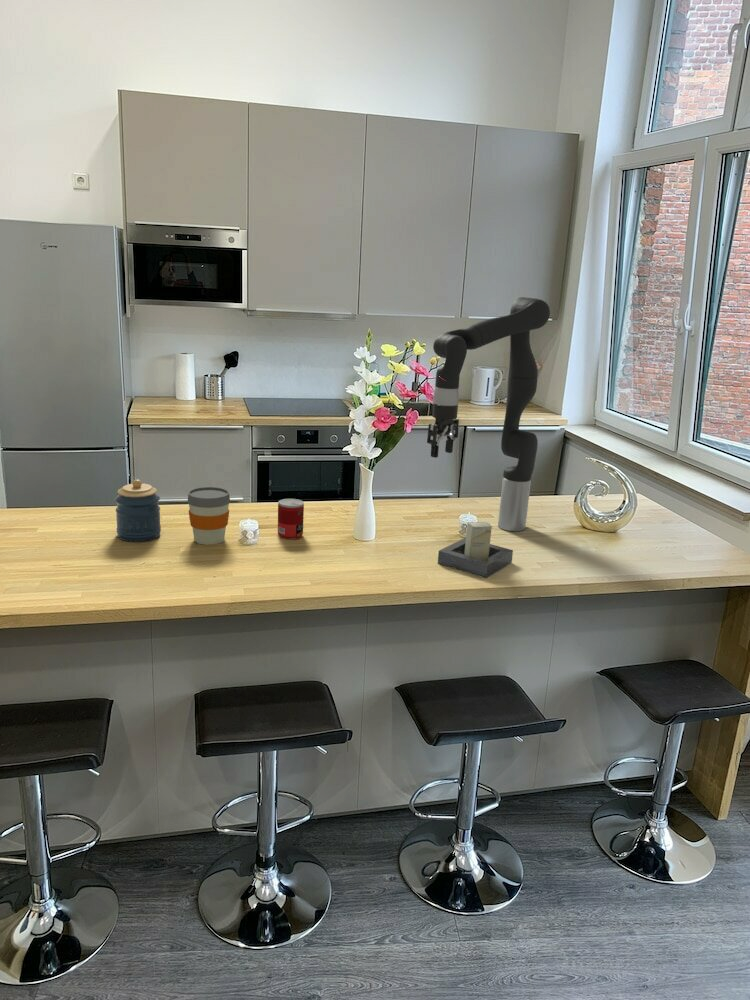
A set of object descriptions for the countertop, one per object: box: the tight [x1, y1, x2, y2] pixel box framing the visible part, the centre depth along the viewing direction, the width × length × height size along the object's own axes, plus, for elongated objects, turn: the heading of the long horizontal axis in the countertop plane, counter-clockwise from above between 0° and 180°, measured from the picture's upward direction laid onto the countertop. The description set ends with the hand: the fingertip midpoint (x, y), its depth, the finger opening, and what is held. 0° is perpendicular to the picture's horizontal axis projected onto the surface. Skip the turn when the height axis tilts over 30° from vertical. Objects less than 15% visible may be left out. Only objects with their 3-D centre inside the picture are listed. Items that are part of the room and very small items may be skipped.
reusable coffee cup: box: [187, 486, 231, 546], centre depth 235 cm, size 12×13×15 cm
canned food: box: [277, 498, 305, 540], centre depth 243 cm, size 8×8×11 cm
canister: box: [114, 479, 162, 543], centre depth 235 cm, size 13×13×18 cm
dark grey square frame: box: [437, 537, 514, 579], centre depth 229 cm, size 16×16×4 cm
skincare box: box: [464, 521, 493, 560], centre depth 228 cm, size 6×4×12 cm
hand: (441, 454), depth 238 cm, fingers open, 8 cm apart
